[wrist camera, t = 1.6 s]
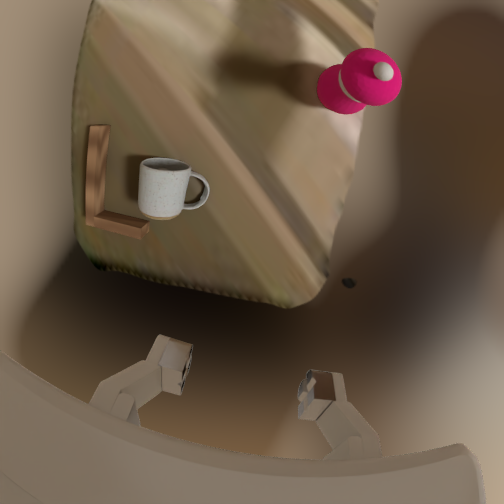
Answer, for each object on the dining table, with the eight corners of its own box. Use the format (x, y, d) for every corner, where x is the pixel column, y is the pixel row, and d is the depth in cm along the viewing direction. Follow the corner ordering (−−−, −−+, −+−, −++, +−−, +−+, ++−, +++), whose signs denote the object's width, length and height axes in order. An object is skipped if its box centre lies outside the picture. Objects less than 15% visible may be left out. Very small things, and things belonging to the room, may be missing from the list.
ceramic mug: (148, 201, 44) (128, 217, 38) (153, 155, 41) (132, 163, 34) (206, 214, 45) (194, 232, 38) (215, 166, 41) (203, 176, 34)
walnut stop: (101, 124, 38) (90, 125, 35) (160, 130, 39) (151, 131, 36) (96, 217, 47) (85, 224, 44) (148, 231, 47) (140, 239, 44)
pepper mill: (308, 107, 36) (337, 93, 18) (318, 64, 32) (352, 19, 14) (354, 121, 36) (416, 123, 18) (364, 79, 32) (428, 53, 15)
